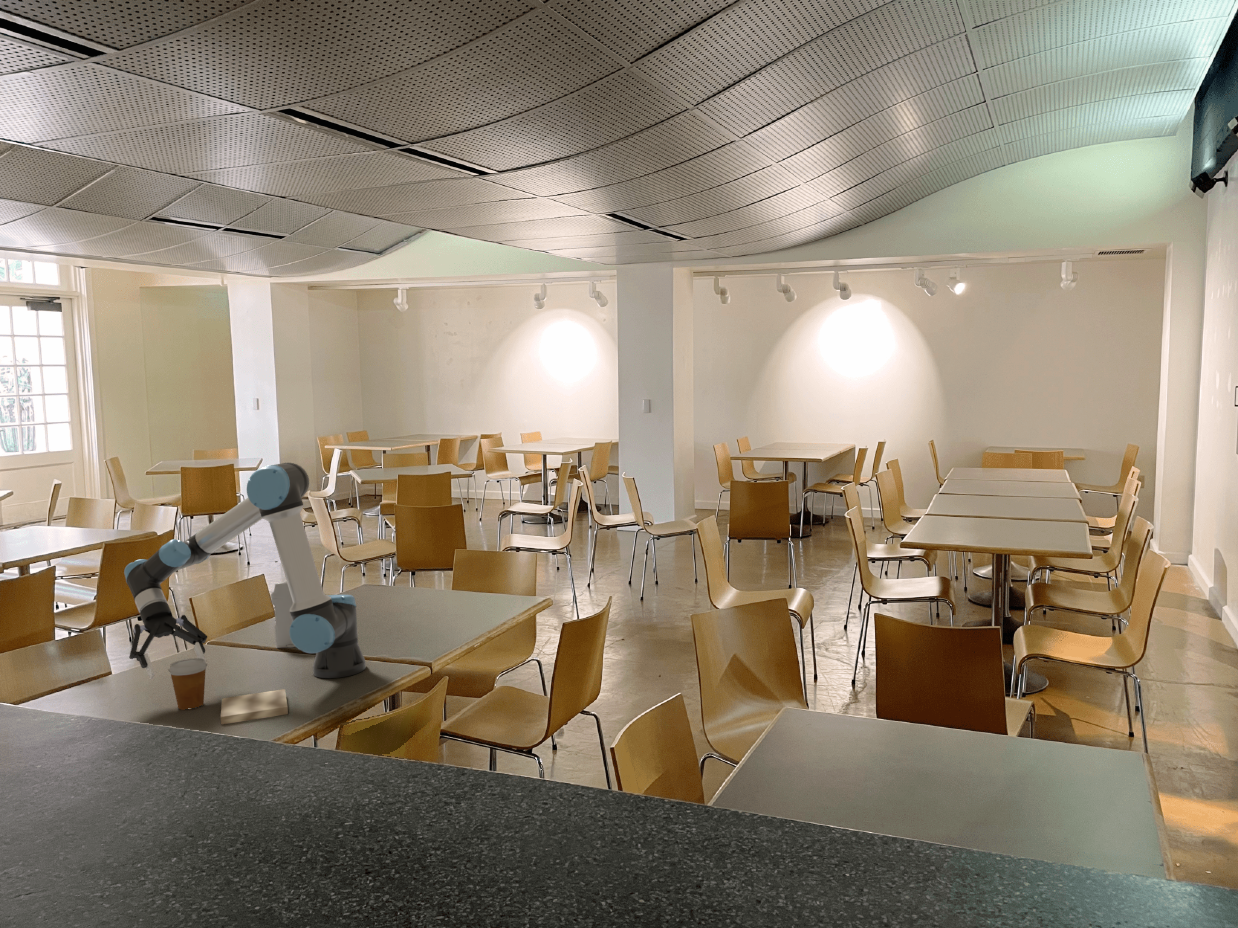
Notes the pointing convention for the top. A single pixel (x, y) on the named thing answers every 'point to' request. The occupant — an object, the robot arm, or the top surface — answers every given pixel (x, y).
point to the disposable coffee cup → (189, 682)
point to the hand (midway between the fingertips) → (178, 669)
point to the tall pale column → (282, 614)
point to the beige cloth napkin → (253, 706)
